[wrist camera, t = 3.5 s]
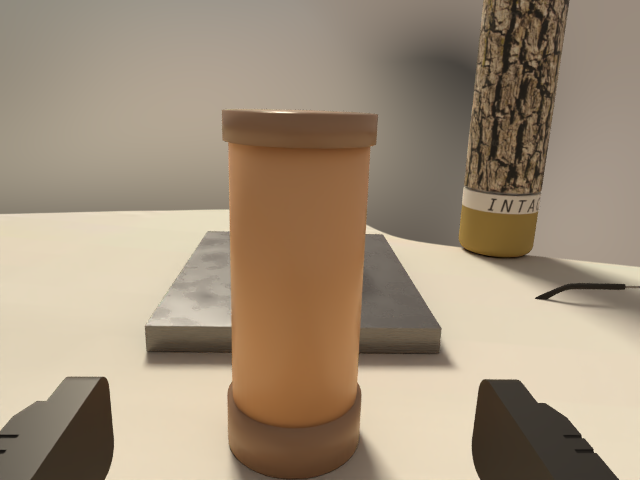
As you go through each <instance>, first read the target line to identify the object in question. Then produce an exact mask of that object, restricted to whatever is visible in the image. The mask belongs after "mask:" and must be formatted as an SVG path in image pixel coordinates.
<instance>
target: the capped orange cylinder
mask: <svg viewBox="0 0 640 480" xmlns="http://www.w3.org/2000/svg"><path fill="white" fill-rule="evenodd" d="M377 122H378V115H377V114H370V113H356V112H337V111H312V110H277V109H274V110H273V109H224V110H222V138H223V141H225V142H228V146H229V205H230V267H231V328H232V382H231V384H230V386H229V389H228V440H229V445H230V448H231V451H232V452H233V454H234V455H235V457H236V458H237V459H238V460H239V461H240V462H241V463H242V464H244V465H245V466H247V467H248V468H250V469H252V470H254V471H256V472H258V473H261V474H264V475H267V476H271V477H276V478H283V479H303V478H310V477H315V476H319V475H323V474H326V473H328V472H331V471H333V470H335V469H337V468H338V467H340V466H341V465H343V464H344V463H345V462H347V461H348V460H349V459H350V458H351V456H352V455H353V454H354V452H355V450H356V448H357V446H358V441H359V428H360V411H361V389H360V386H359V384H358V383H357V376H358V358H359V340H360V322H361V304H362V286H363V269H364V251H365V233H366V215H367V197H368V179H369V161H370V146H374V145H376V138H377Z"/></svg>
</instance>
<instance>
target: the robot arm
mask: <svg viewBox="0 0 640 480" xmlns="http://www.w3.org/2000/svg"><path fill="white" fill-rule="evenodd" d="M113 450H114V436H113V425H112V414H111V402H110V391H109V384H108V381H107V379H106V378H105V377H66V378H65V379H64V380H63V381H62V382H61V384H60V385H59V386H58V387H57V389H56V390H55V391H54V392H53V394H52V395H51V396H50V397H49V398H48V400H47V401H36V402H35V403H33V404H32V405H30V406H29V407H27V408H25V409H24V410H22V411H21V412H19V413H18V414H16V415H14V416H13V417H12V418H11V419H10V420H9V422H8V423H7V424H6V425H5V426H4V427H3V428H2V430H1V431H0V480H105V478H106V476H107V474H108V472H109V469H110V466H111V462H112V457H113ZM593 450H594V449H593V448H592V447H591V446H590V445H589V443H588V442H587V441H586V440H585V439H584V438H582V437H581V434H580V433H579V431H578V430H577V429H576V428H575V427H574V426H573V424H572V423H571V422H570V421H569V420H568V418H567V417H565V416H564V415H562V414H561V413H559V412H558V411H556V410H555V409H553V408H552V407H550V406H549V405H547V404H546V403H537V401H536V400H535V399H534V398H533V396H532V395H531V394H530V393H529V391H528V390H527V389H526V387H525V386H524V385H523V384H522V382H521V381H519V380H491V379H485V380H483V381H482V382H481V383H480V386H479V391H478V399H477V406H476V414H475V421H474V429H473V437H472V455H473V461H474V466H475V469H476V471H477V474H478V476H479V478H480V480H619V479H618V478H617V477H616V476H615V474H614V473H613V472H612V471H611V470H610V468H609V467H608V466H607V465H606V464H605V462H604V461H603V460H602V459H601V458H600V456H599V455H598V454H597V453H594V451H593Z"/></svg>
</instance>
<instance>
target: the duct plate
mask: <svg viewBox="0 0 640 480" xmlns="http://www.w3.org/2000/svg"><path fill="white" fill-rule="evenodd" d="M145 335H146V350H147V351H182V352H232V328H231V267H230V232H219V231H208V232H207V233H206V235H205V236H204V238H203V239H202V241H201V242H200V244H199V245H198V247H197V248H196V250H195V251H194V253H193V254H192V256H191V257H190V259H189V260H188V262H187V263H186V265H185V266H184V268H183V269H182V271H181V272H180V274H179V275H178V277H177V278H176V280H175V281H174V283H173V284H172V286H171V287H170V289H169V290H168V292H167V293H166V295H165V296H164V298H163V299H162V301H161V302H160V304H159V305H158V307H157V308H156V310H155V311H154V313H153V314H152V316H151V317H150V319H149V320H148V322H147V323H146V325H145ZM440 338H441V327H440V325H439V324H438V322H437V321H436V319H435V317H434V316H433V314H432V313H431V311H430V309H429V308H428V306H427V305H426V303H425V301H424V300H423V298H422V297H421V295H420V293H419V292H418V290H417V289H416V287H415V285H414V284H413V282H412V280H411V279H410V277H409V276H408V274H407V272H406V271H405V269H404V268H403V266H402V264H401V263H400V261H399V260H398V258H397V256H396V255H395V253H394V252H393V250H392V248H391V247H390V245H389V244H388V242H387V240H386V239H385V237H384V236H383V235H380V234H365V251H364V269H363V286H362V304H361V322H360V340H359V353H439V348H440Z"/></svg>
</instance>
